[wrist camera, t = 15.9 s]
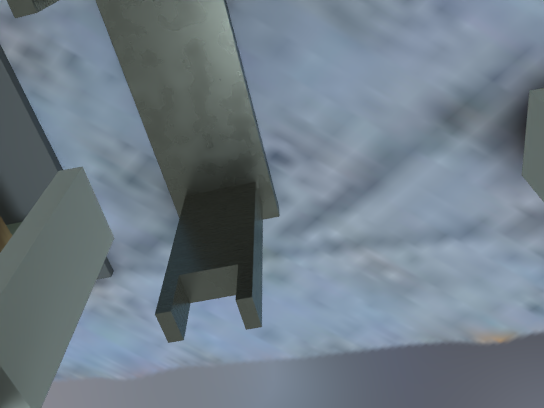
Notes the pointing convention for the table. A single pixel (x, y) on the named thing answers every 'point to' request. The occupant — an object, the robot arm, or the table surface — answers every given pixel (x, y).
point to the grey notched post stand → (196, 147)
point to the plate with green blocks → (23, 155)
